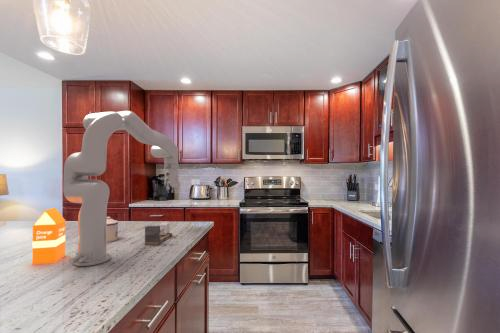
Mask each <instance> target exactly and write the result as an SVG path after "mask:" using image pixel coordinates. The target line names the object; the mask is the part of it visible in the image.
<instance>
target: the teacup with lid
mask: <svg viewBox="0 0 500 333" xmlns="http://www.w3.org/2000/svg"><path fill="white" fill-rule="evenodd" d="M118 225H119V221H118V220H115V219H113V218H111V216H107V240H106V243H109V242H110V243H111V242H115V241H117V240H118V238H119V226H118Z"/></svg>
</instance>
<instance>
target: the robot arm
mask: <svg viewBox="0 0 500 333" xmlns="http://www.w3.org/2000/svg"><path fill="white" fill-rule="evenodd" d="M82 125H83V128H84V129H85V131H84V133H83V137H82V142H81V151H79V152H74V153H72V154H70V155H69V156H68V157H67V158H66V160H65V162H64V165H63V183H62V184H63V185H62V187H63V189H62V191H63V195H64V198H65V199H66V200H67V202H71V203H74V204H81V206H80V209H79V211H78V216H77V235H78V236H77V252H76V255H75V256H74V257H71V258H69V260H68V263H69V265H73V266H76V267H90V266H95V265H100V264H105V263H106V262H108V261H110V260H111V259H112V258H111V257H112V254H111V253H108V252H107V242H106V240H107V217H108V216H107V212H108V211H107V210H108V202H109V199H110V187H109V185H108V183H106V182H105V181H103V180H100V179H92V178H91V179H89V177H95V176H101V175H102V174H104V173H105V172H106V169H107V158H108V157H107V154H108V142H109V139H110V137H111V136H112V135H113V134H114V133H115V132H117V131H125V132H126V133H128V134H129V135H131V136H132V137H133V138H134V139H135V140H136V141H138V143H139V142H140V143H141V144H144V145H145V144H146V145H149V146H151V148H150V154H151V155H152V157H154V158H156V159H158V158H159V159H160V158H161V159H164V160H163V163H164V164H163V166H164V167H163V170H164V179H163V180H164V184H163V185H164V187H165V189H166V191H167V198H168V199H167V200H169V201H174V200H176V199H175V198H176V197H175V196H176V195H175V194H176V193H175V192H176V189H177V187H179V186H180V180H179V179H180V178H179V147H178V145H176V143H175V142H174V141H172V139H171V138H169V137H168V136H167V135H166V134H163V133H161V132H159V131H158V130H154V129H152V128H150V126H149V125H147V124H146V122H144V120H142V119H141V117H139V115H137V114H136V113H135V112H134V111H132V110H121V111H102V112H95V113H93V112H92V113H89V114H87V115H85V117H84V118H83V120H82Z"/></svg>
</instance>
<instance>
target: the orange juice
mask: <svg viewBox="0 0 500 333" xmlns="http://www.w3.org/2000/svg"><path fill="white" fill-rule="evenodd" d="M66 221H67V220H66V219H65V218H64V217H63V216H62V214H61V213H60V212H59V211H58V209H56V207H52V208H49V209H46V210H44V211H43V213H42V214H41V216H39V218H38V219H37V221H36V222H35V223H34V224H33V225H32V265H39V264H41V263H43V264H51V263H57V262H58V261H59V260H62V258H63V257H65V256H66Z"/></svg>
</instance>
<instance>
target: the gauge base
mask: <svg viewBox="0 0 500 333" xmlns="http://www.w3.org/2000/svg"><path fill="white" fill-rule="evenodd" d="M172 236H173V232H170V234H166V235H160V226H159V225H147V226H145V227H144V246H159V245H160V244H162V243H163V242H165V241H166V240H168V239H170V238H171V237H172Z"/></svg>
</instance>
